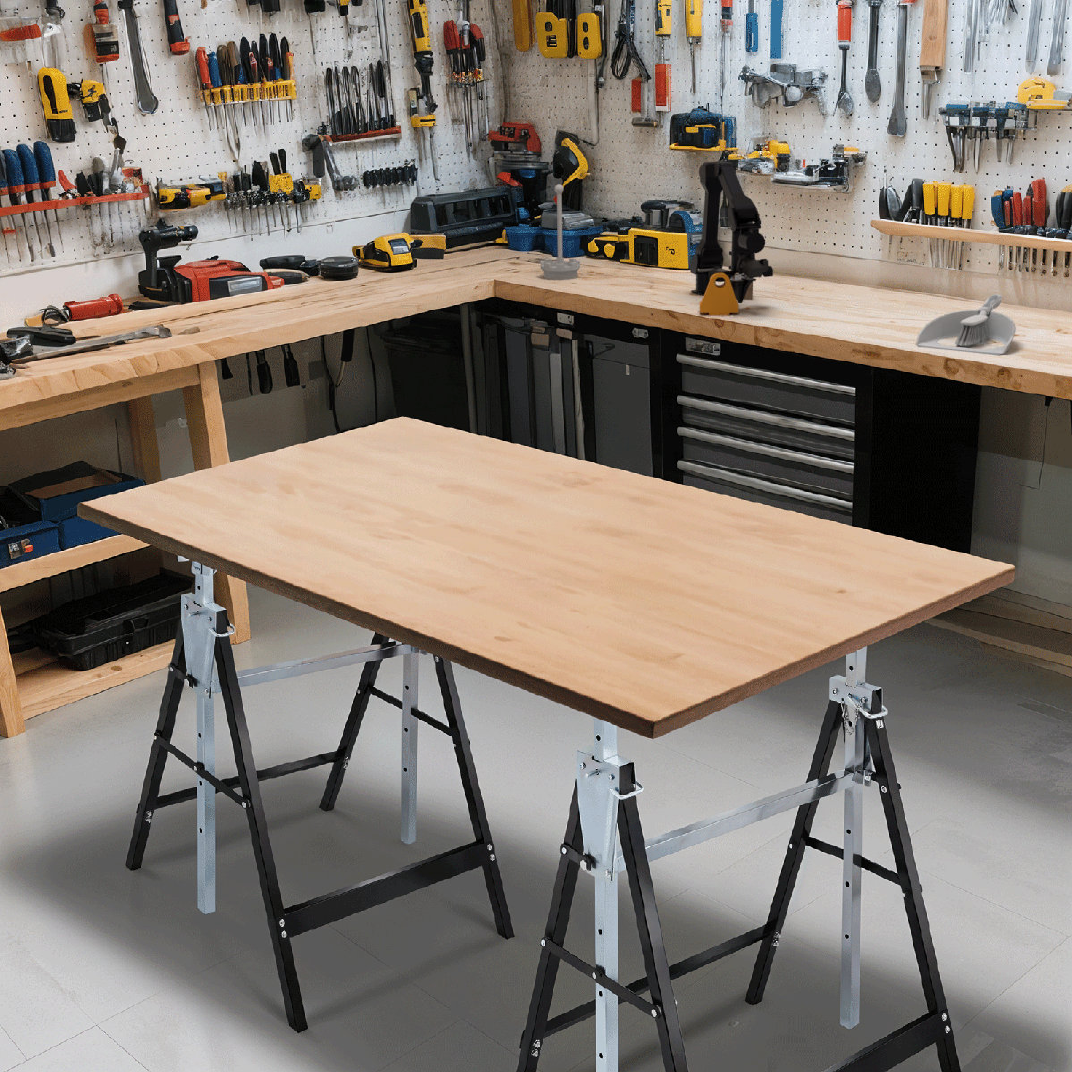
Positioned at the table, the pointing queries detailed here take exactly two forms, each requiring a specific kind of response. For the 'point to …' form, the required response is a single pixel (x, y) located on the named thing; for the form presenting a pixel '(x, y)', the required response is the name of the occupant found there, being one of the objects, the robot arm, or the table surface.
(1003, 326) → the dustpan and brush
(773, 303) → the table surface
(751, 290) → the letter block
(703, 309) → the bracket
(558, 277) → the flag stand
